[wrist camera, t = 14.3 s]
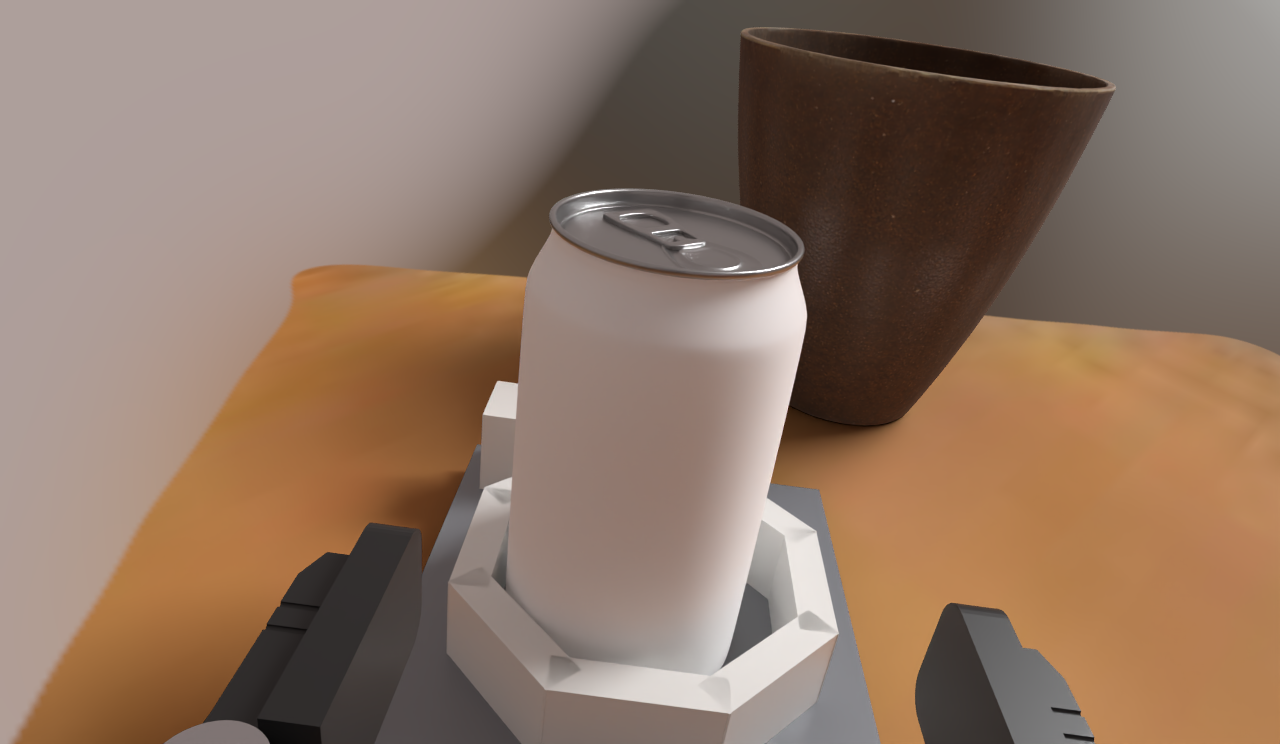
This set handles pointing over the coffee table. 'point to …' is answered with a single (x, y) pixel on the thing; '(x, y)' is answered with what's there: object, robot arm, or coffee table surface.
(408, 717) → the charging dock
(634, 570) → the can
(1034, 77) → the plant pot
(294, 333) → the coffee table surface
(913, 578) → the coffee table surface
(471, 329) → the coffee table surface
